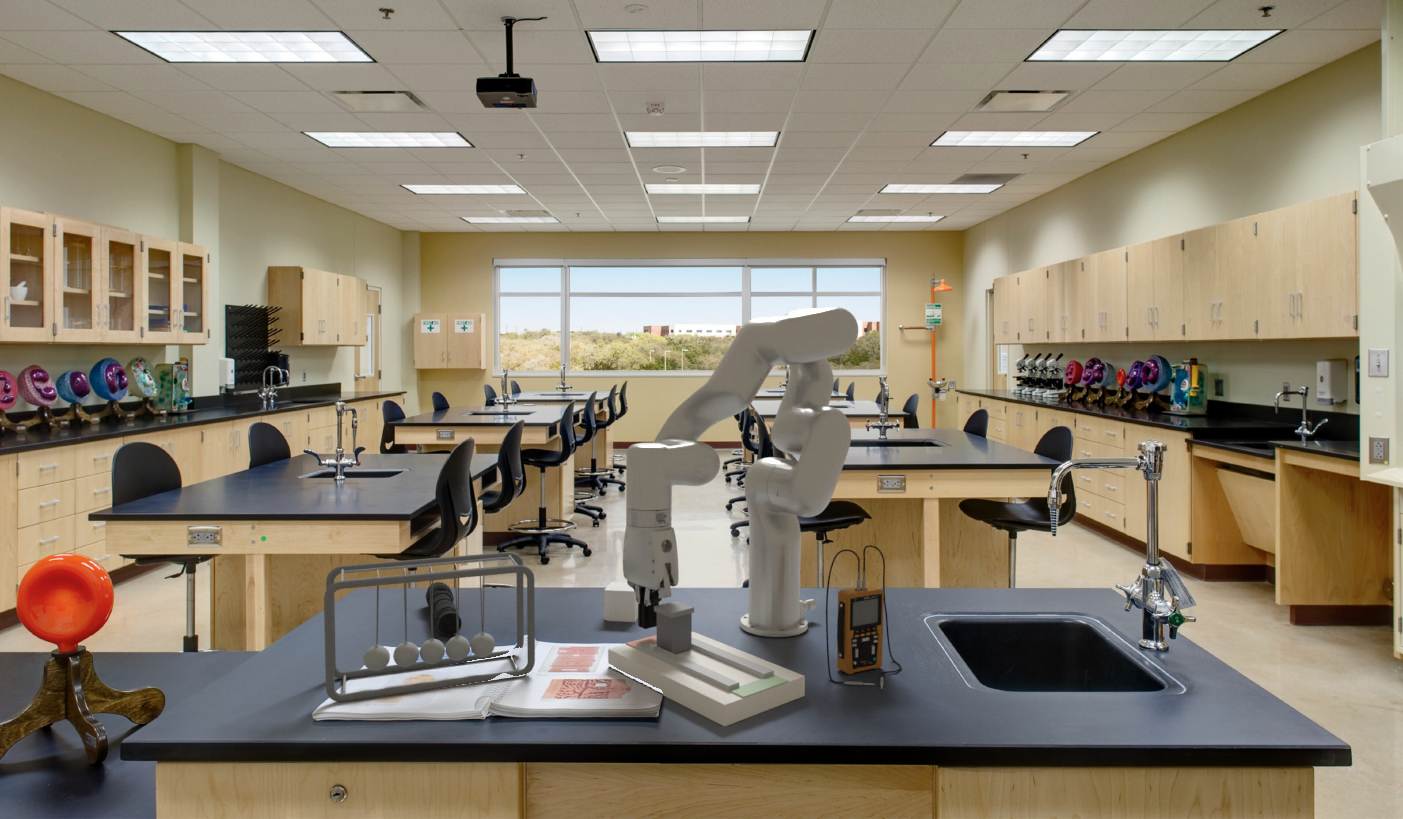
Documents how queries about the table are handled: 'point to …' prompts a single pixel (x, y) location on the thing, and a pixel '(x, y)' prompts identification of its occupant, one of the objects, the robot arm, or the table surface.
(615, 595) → the white cube
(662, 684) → the slider rail board
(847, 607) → the multimeter
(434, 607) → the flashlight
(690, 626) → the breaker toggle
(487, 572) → the newton's cradle
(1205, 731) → the table surface
